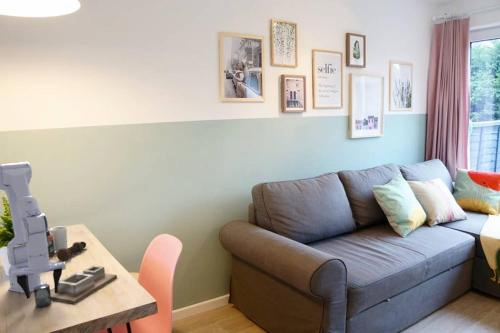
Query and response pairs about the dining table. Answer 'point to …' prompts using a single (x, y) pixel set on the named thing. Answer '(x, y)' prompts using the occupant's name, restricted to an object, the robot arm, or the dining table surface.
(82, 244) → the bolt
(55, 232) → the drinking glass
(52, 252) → the supplement bottle
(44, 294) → the gray metal cylinder
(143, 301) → the dining table surface
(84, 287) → the fitting board
